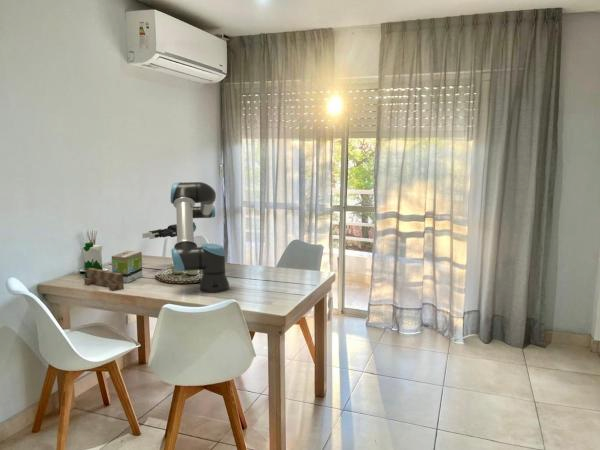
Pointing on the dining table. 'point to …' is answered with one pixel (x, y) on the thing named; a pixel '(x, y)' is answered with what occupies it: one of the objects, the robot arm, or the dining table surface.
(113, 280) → the brown bumpy block
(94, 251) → the milk carton
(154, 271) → the dining table surface
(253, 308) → the dining table surface
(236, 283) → the dining table surface
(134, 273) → the tea box
